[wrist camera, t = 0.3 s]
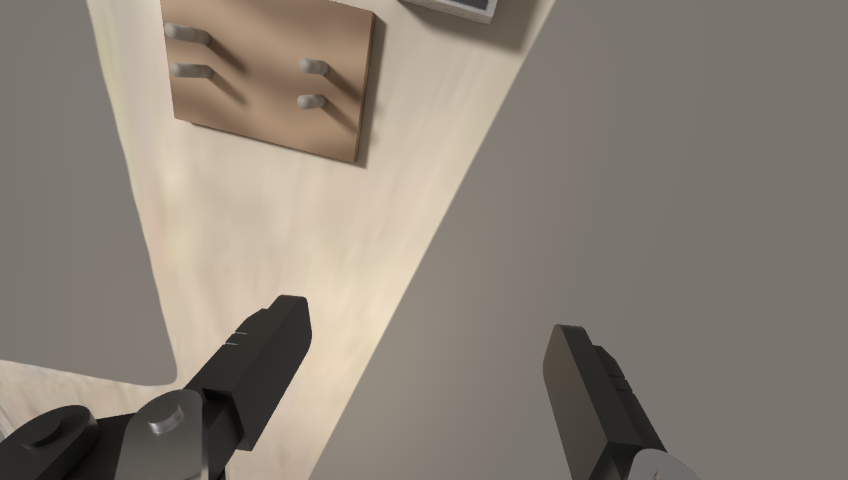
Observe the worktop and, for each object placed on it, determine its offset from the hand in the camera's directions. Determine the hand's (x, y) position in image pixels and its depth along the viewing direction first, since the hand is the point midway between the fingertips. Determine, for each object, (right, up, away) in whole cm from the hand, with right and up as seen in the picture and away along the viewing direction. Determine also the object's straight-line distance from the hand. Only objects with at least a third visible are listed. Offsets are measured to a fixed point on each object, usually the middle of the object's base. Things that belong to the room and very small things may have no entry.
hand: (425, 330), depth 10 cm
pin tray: (-16, +20, +22) cm, 34 cm away
